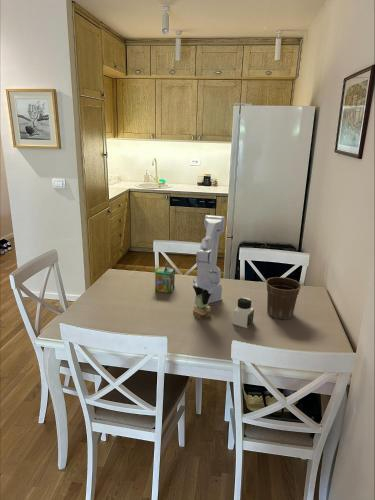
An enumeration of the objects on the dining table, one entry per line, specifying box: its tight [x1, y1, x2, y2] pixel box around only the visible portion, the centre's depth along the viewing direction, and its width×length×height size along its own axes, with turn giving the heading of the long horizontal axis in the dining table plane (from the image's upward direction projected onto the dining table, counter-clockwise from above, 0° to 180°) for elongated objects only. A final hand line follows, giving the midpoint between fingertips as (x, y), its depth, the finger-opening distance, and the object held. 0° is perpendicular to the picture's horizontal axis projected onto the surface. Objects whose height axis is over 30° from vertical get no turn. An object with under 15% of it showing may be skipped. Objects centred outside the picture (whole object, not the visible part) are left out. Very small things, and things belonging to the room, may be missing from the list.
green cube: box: [194, 294, 209, 308], centre depth 171 cm, size 4×4×4 cm
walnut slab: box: [192, 309, 211, 320], centre depth 174 cm, size 6×6×2 cm
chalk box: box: [154, 263, 176, 294], centre depth 199 cm, size 9×9×15 cm
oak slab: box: [193, 304, 211, 315], centre depth 173 cm, size 6×6×2 cm
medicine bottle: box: [232, 297, 255, 329], centre depth 166 cm, size 7×7×12 cm
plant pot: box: [265, 276, 302, 320], centre depth 175 cm, size 16×16×16 cm
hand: (202, 301), depth 172 cm, fingers closed on green cube, 4 cm apart
